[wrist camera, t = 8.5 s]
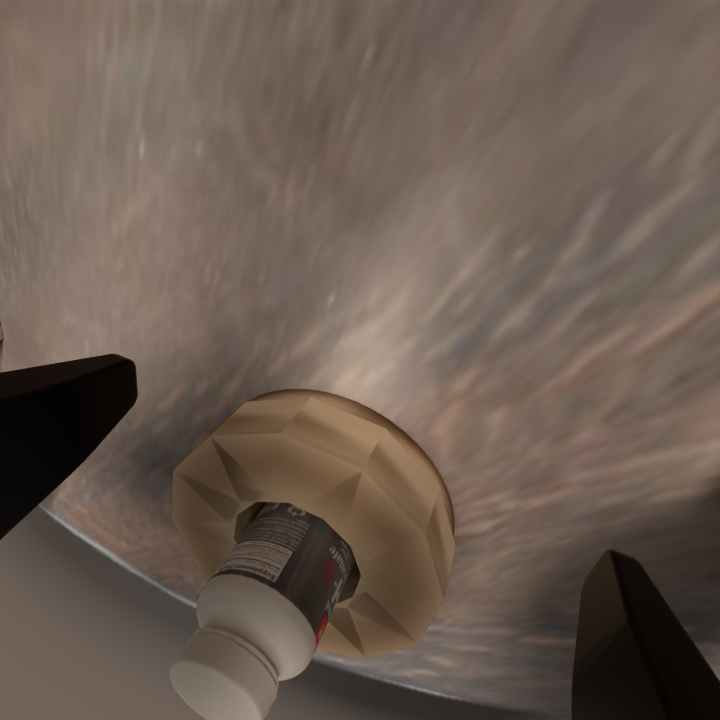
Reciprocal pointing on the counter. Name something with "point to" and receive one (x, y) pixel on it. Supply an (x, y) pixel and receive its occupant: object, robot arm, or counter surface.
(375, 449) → the block
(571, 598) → the counter surface
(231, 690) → the pill bottle
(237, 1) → the counter surface
